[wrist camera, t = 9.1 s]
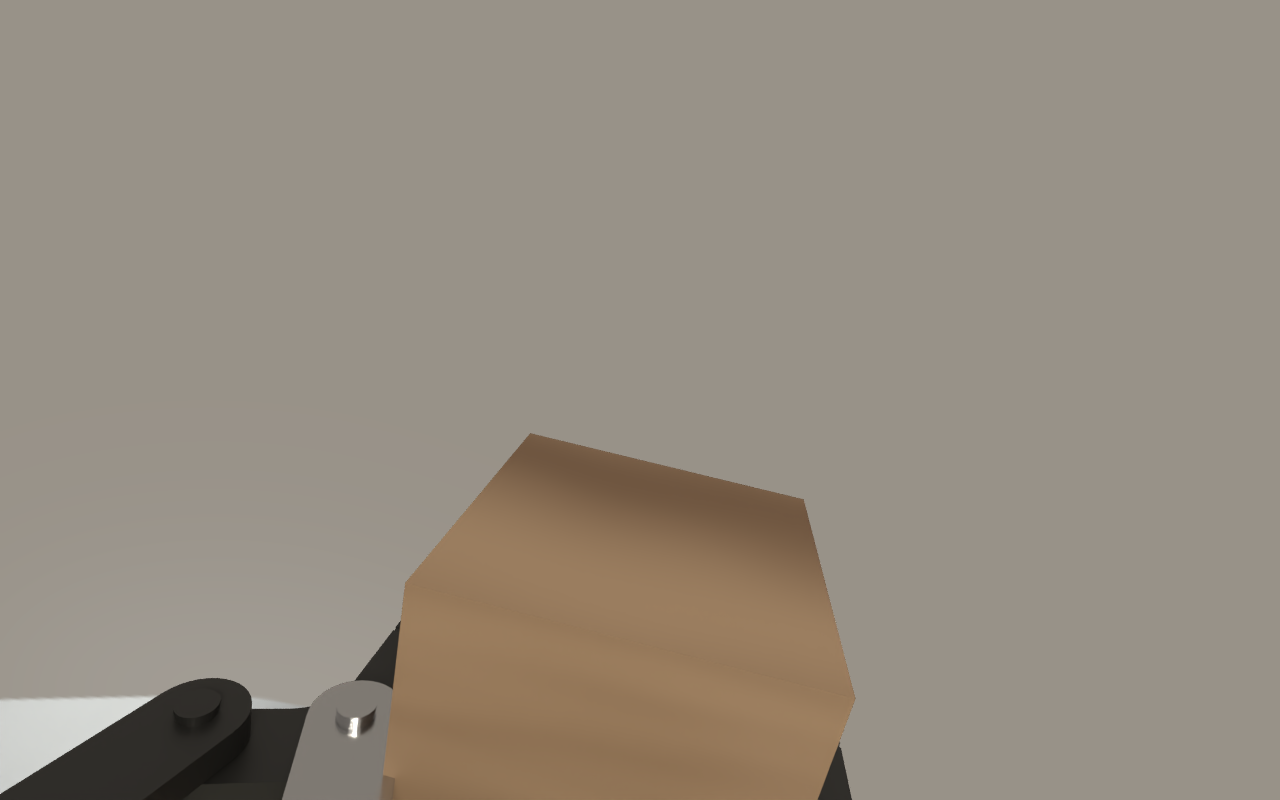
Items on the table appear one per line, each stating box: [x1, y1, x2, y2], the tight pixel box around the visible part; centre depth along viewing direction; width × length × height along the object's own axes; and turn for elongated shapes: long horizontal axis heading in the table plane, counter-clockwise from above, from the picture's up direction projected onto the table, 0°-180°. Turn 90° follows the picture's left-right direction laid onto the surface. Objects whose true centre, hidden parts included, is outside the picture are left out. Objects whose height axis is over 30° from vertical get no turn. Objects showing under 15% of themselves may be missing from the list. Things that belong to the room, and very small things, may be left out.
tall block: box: [383, 433, 855, 800], centre depth 11 cm, size 5×5×10 cm
